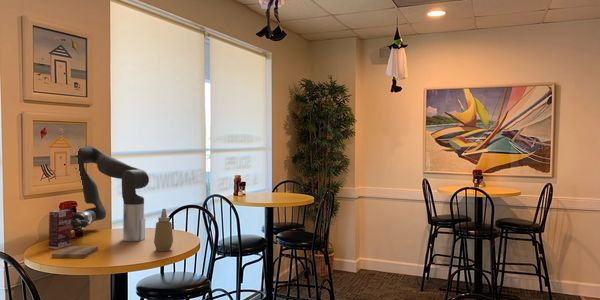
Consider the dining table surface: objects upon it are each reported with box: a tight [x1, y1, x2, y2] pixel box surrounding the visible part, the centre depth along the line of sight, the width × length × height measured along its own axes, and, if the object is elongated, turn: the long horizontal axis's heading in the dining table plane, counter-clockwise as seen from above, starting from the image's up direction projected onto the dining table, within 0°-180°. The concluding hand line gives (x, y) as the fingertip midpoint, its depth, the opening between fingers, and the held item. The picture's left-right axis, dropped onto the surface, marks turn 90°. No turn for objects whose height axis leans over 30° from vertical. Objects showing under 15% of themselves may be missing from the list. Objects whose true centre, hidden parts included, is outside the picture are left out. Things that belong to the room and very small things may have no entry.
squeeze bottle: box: [153, 208, 174, 252], centre depth 198 cm, size 8×8×18 cm
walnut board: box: [51, 245, 99, 259], centre depth 189 cm, size 13×13×2 cm
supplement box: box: [48, 208, 72, 250], centre depth 200 cm, size 9×5×16 cm, turn 168°
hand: (64, 226), depth 205 cm, fingers open, 8 cm apart
